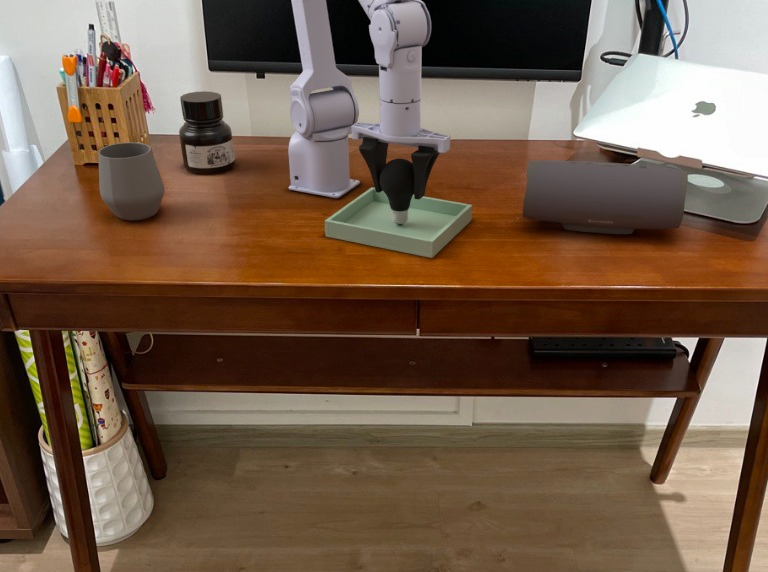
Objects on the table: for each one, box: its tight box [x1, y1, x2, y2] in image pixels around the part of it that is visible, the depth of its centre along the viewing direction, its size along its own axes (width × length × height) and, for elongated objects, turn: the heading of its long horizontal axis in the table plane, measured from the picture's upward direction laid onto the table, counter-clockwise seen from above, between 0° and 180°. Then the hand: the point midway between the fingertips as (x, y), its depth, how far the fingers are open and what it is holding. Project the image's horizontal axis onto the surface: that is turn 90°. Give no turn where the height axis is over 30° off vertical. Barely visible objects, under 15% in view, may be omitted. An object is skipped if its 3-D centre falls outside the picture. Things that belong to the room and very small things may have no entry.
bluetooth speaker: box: [522, 159, 689, 235], centre depth 123 cm, size 23×9×10 cm, turn 80°
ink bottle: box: [178, 90, 236, 175], centre depth 143 cm, size 10×9×12 cm
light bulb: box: [380, 157, 414, 226], centre depth 122 cm, size 6×6×10 cm
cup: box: [97, 141, 165, 222], centre depth 125 cm, size 10×9×10 cm
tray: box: [324, 187, 473, 259], centre depth 124 cm, size 17×15×2 cm
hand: (400, 193), depth 122 cm, fingers closed on light bulb, 6 cm apart
